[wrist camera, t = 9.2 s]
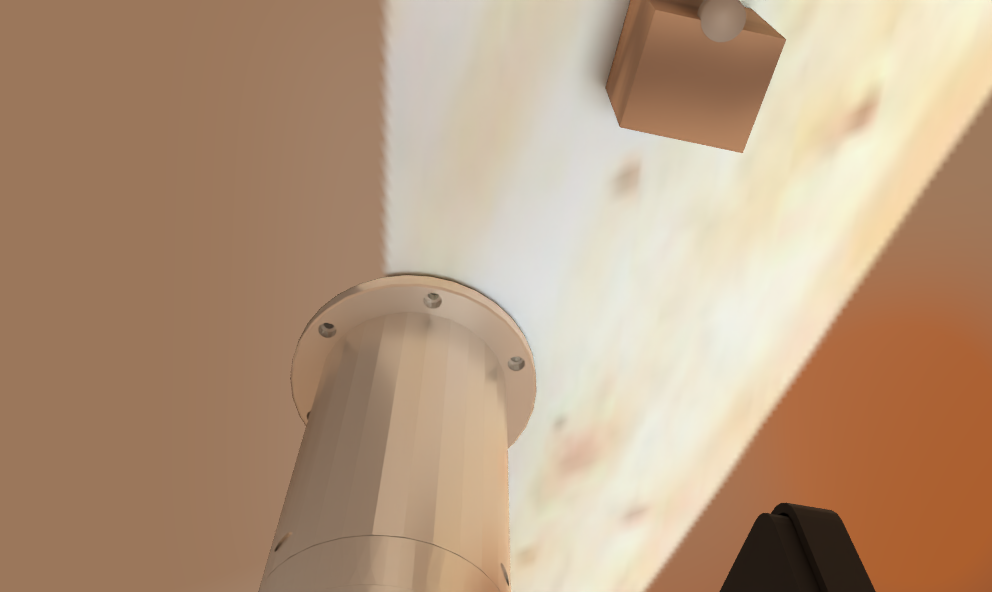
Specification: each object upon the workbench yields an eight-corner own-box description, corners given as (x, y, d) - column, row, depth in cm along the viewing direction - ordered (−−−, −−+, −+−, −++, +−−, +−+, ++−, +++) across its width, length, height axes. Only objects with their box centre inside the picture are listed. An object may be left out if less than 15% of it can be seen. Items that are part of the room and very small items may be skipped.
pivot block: (714, 111, 38) (743, 154, 34) (605, 87, 38) (620, 127, 33) (759, -16, 36) (797, 12, 31) (642, -44, 35) (664, -19, 31)
